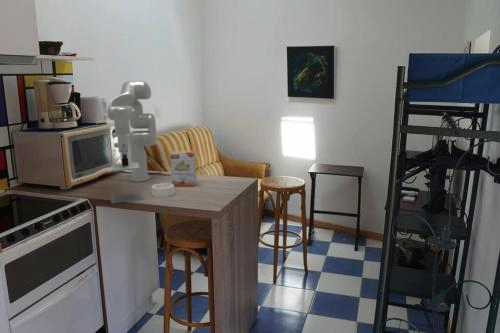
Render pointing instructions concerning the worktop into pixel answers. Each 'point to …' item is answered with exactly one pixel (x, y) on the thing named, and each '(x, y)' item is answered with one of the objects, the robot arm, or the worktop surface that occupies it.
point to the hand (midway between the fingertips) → (125, 164)
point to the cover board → (123, 168)
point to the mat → (126, 198)
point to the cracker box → (183, 168)
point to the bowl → (163, 190)
